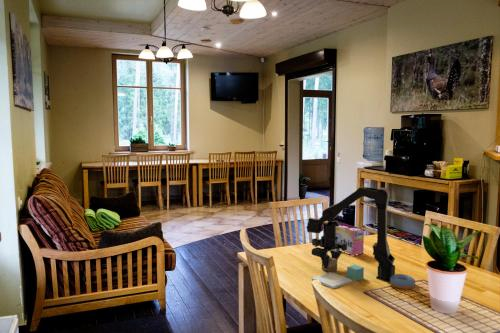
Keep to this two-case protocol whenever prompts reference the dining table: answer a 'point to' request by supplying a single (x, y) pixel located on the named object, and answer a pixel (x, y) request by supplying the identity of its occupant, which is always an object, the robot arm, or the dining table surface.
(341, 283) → the white square plate
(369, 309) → the dining table surface
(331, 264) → the walnut block
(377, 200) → the robot arm
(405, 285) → the doughnut
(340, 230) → the gum box
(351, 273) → the teal block
